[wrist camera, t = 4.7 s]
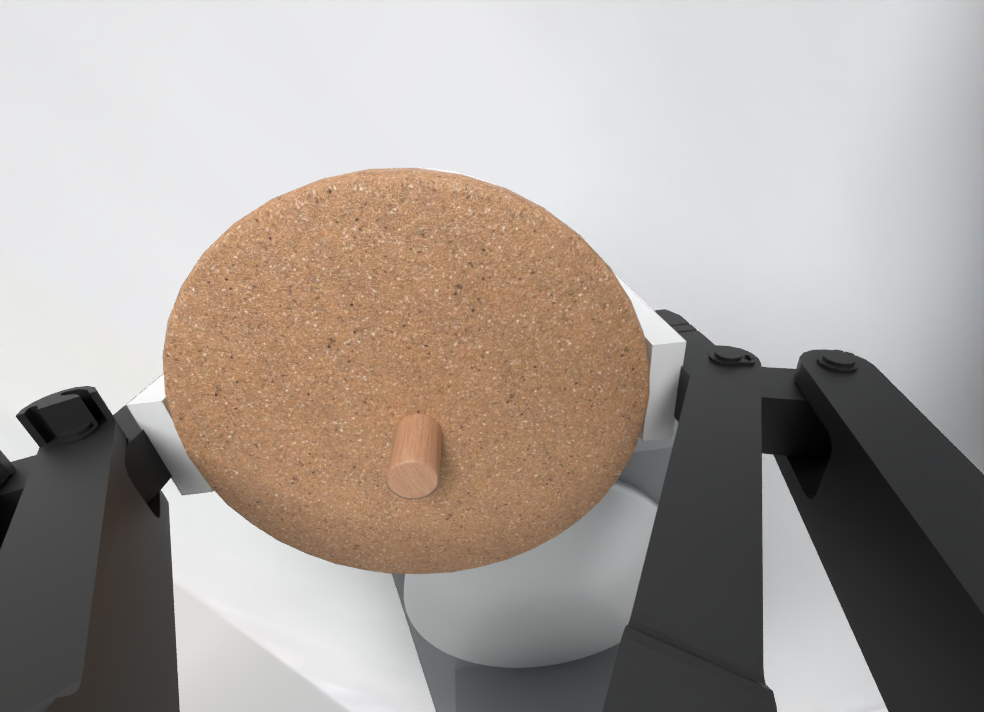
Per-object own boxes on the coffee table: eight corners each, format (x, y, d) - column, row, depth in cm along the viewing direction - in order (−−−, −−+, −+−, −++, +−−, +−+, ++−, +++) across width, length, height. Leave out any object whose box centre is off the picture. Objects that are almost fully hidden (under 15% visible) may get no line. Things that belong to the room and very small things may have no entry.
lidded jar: (509, 88, 13) (595, 23, 5) (605, 359, 18) (727, 552, 10) (225, 234, 15) (-74, 371, 6) (385, 448, 20) (332, 681, 11)
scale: (678, 412, 22) (806, 567, 14) (645, 644, 33) (707, 808, 25) (373, 451, 22) (328, 636, 14) (438, 675, 32) (434, 853, 24)
